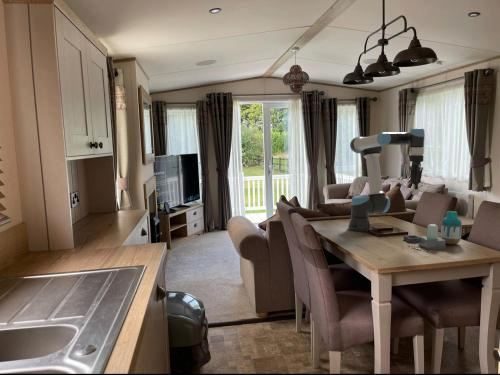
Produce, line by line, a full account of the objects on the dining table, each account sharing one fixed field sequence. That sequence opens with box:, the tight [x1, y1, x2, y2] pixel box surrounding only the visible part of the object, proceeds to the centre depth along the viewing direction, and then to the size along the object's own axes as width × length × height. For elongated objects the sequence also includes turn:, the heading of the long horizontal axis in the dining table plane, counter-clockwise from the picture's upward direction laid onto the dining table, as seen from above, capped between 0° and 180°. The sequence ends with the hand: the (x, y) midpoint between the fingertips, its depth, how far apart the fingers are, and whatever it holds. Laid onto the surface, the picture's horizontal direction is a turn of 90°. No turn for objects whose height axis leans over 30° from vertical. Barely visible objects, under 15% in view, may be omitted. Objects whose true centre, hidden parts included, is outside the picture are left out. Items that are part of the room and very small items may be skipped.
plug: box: [426, 223, 439, 240], centre depth 221 cm, size 4×4×13 cm
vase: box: [440, 210, 463, 245], centre depth 227 cm, size 11×11×19 cm
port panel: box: [418, 235, 446, 250], centre depth 222 cm, size 10×10×6 cm
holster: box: [403, 234, 420, 244], centre depth 236 cm, size 8×8×2 cm
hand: (415, 194), depth 231 cm, fingers closed
